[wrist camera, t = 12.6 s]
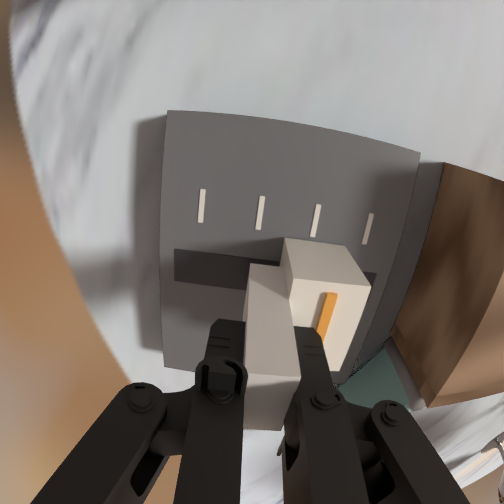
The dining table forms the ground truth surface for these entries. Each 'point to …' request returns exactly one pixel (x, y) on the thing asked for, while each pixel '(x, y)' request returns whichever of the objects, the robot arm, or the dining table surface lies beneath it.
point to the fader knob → (325, 293)
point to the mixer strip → (268, 215)
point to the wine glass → (497, 443)
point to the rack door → (384, 381)
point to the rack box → (458, 294)
